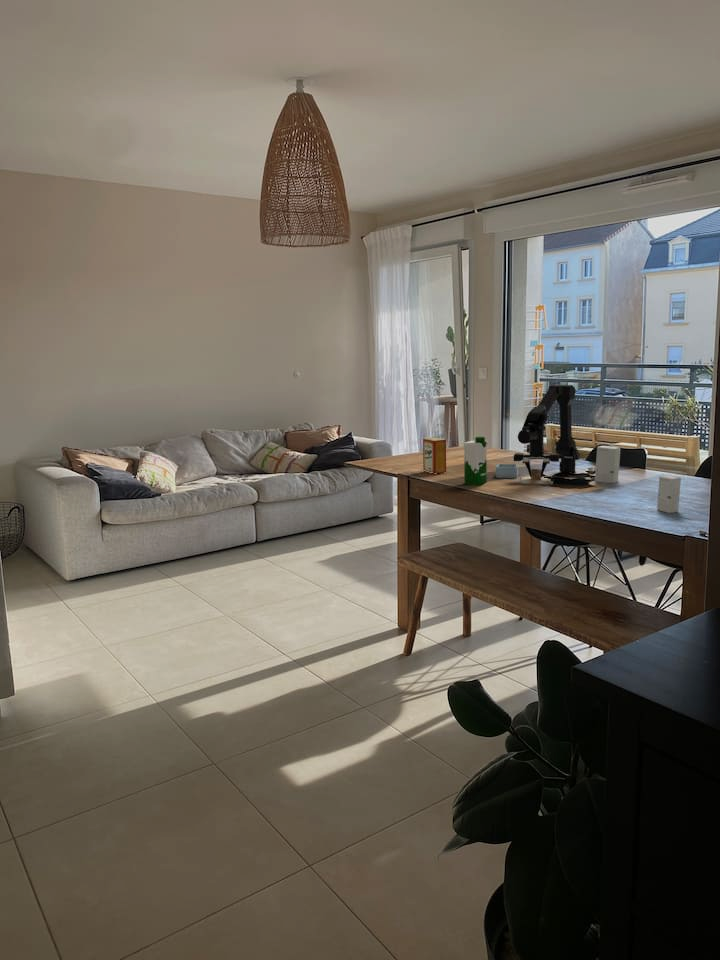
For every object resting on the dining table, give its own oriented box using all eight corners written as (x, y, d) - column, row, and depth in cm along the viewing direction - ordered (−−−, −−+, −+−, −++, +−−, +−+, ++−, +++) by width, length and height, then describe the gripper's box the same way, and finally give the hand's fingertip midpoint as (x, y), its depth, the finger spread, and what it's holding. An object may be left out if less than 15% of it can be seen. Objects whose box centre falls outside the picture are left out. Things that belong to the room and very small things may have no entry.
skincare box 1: (594, 481, 317) (595, 446, 315) (600, 479, 322) (601, 445, 319) (614, 483, 312) (615, 448, 309) (619, 481, 316) (620, 446, 314)
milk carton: (480, 486, 316) (480, 438, 312) (461, 484, 321) (460, 437, 317) (489, 482, 323) (489, 436, 319) (470, 480, 328) (470, 435, 324)
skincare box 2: (656, 510, 264) (657, 476, 262) (665, 508, 266) (667, 474, 263) (670, 513, 258) (671, 478, 256) (679, 511, 260) (681, 477, 258)
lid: (550, 478, 325) (551, 467, 324) (550, 483, 313) (550, 472, 313) (522, 478, 328) (522, 467, 327) (520, 483, 317) (520, 472, 316)
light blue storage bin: (518, 475, 338) (518, 464, 337) (516, 478, 329) (516, 467, 328) (497, 474, 340) (497, 463, 339) (496, 478, 332) (496, 467, 331)
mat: (553, 479, 326) (553, 478, 326) (552, 485, 312) (552, 484, 312) (520, 478, 329) (520, 477, 329) (518, 484, 316) (518, 483, 316)
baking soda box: (423, 471, 354) (422, 438, 351) (435, 470, 357) (434, 436, 354) (434, 474, 346) (433, 440, 343) (446, 473, 349) (445, 438, 346)
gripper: (559, 438, 323) (559, 474, 326) (515, 438, 328) (515, 473, 331) (559, 442, 312) (558, 479, 315) (513, 441, 317) (513, 478, 320)
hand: (536, 477), depth 320 cm, fingers closed on lid, 4 cm apart
